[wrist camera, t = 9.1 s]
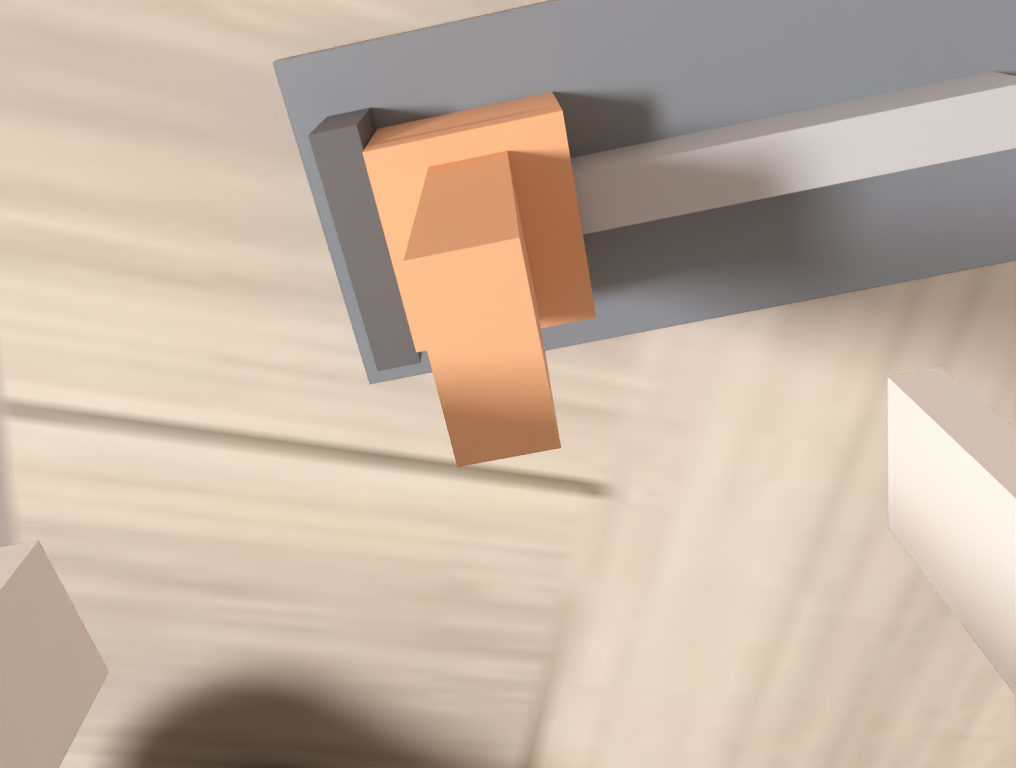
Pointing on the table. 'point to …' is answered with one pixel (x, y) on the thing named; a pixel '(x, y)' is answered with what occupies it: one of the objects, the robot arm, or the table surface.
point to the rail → (692, 92)
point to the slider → (485, 262)
